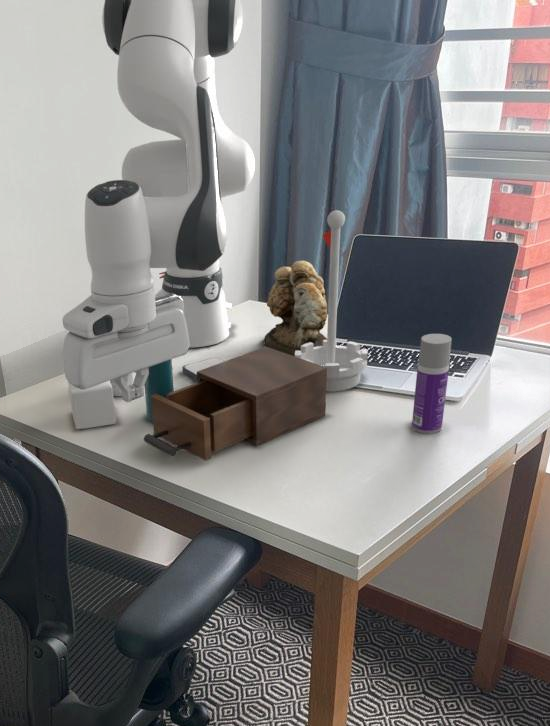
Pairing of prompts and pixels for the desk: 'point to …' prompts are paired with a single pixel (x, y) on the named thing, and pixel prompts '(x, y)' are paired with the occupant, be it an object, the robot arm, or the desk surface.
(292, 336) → the owl figurine
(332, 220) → the flag stand
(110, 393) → the medicine bottle
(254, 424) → the cabinet
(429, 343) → the container
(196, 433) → the drawer
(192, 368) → the phone case
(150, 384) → the tin
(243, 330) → the desk surface
